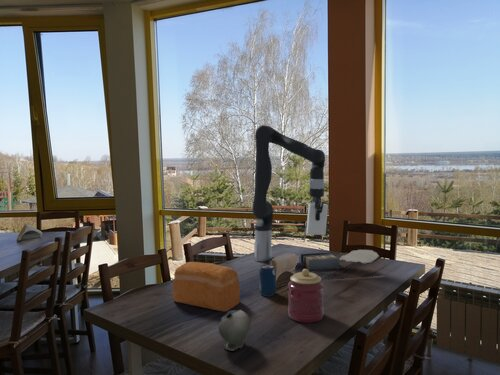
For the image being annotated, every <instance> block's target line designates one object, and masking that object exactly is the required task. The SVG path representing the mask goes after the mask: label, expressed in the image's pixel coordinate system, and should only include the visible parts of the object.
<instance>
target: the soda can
mask: <svg viewBox="0 0 500 375" xmlns="http://www.w3.org/2000/svg"><path fill="white" fill-rule="evenodd" d="M258 271H259V274H258V275H259V282H258V283H259V293H260V294H261V296H264V297H272V296H275V294H276V292H277V289H276V288H277V283H276V281H277V280H276V278H277V276H276V268H275V266H274V265H273V264H263V265H260V268H259V270H258Z"/></svg>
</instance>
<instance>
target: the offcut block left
mask: <svg viewBox="0 0 500 375" xmlns="http://www.w3.org/2000/svg"><path fill="white" fill-rule="evenodd" d="M315 259H322V258H320V257H319V256H312V257H306V267H307V268H308V269H309V260H315ZM306 267H305V268H306ZM307 268H306V269H307Z"/></svg>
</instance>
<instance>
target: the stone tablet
mask: <svg viewBox="0 0 500 375" xmlns="http://www.w3.org/2000/svg"><path fill="white" fill-rule="evenodd" d="M378 258H380V255H379V254H378V253H377V252H376V251H374V250H372V249H357V250H351V251H350V252H349V253H347V254H343V255H342V256H340V257H339V261H345V262H351V263H352V262H354V263H358V262H360V263H362V264H363V265H366V264H371V263H373V262H374V261H376V260H377V259H378Z"/></svg>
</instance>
